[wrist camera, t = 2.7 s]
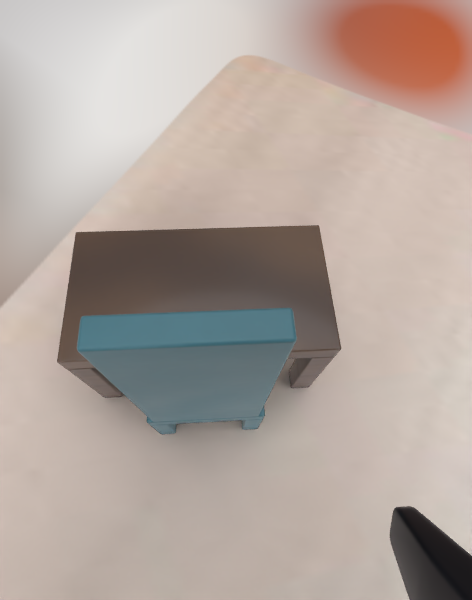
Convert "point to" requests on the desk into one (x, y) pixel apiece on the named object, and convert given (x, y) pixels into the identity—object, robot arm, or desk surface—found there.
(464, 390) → the desk surface
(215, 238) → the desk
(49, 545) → the desk surface
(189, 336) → the chair
